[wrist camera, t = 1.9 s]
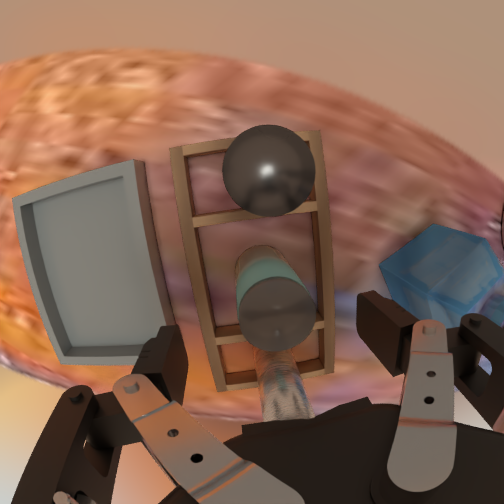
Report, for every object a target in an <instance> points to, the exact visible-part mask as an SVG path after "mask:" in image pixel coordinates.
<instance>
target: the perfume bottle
mask: <svg viewBox="0 0 504 504" xmlns="http://www.w3.org/2000/svg"><path fill="white" fill-rule="evenodd" d="M379 267H380V269H381V272H382V274H383V276H384V279H385V281H386V284H387V286H388V289H389V291H390V294H391V296H392V299H393V301H395V302H397V303H398V304H399V305H401V307H403V308H405V309H406V311H409V312H410V313H411V314H412V315H414V316H415V317H416V318H418V319H419V320H426V319H431V320H436V321H439V322H441V323H442V324H444V325H445V327H446V329H447V328H454V327H459V326H460V321H461V317H462V316H463V315H465V314H469V313H477V314H481V315H483V316H485V317H487V318H488V319H490V320H491V321H493V322H494V323H496V324H497V325H498V326H500V327H501V328H503V329H504V269H503V267H502V265H501V264H500V262H499V260H498V258H497V256H496V255H495V253H494V251H493V250H492V248H491V246H490V245H489V243H488V241H487V240H486V239H485V238H482V237H479V236H476V235H472V234H469V233H465V232H462V231H458V230H455V229H451V228H448V227H444V226H440V225H437V224H432V225H431V226H430V227H428V228H427V229H426V230H424V231H423V232H422V233H421V234H419V235H418V236H417V237H415V238H414V239H413V240H412V241H410V242H409V243H408V244H406V245H405V246H404V247H402V248H401V249H400V250H398V251H397V252H395V253H394V254H393V255H391V256H390V257H389V258H387V259H386V260H384V261H383V262H382V263H380V264H379Z"/></svg>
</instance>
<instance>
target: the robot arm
mask: <svg viewBox="0 0 504 504" xmlns="http://www.w3.org/2000/svg"><path fill="white" fill-rule="evenodd" d="M502 237H503V245H504V213H503V222H502ZM356 327H357V332H358V334H359V336H360V338H361V339H362V340H363V341H364V342H365V344H366V345H367V346H368V347H369V348H370V350H371V351H372V352H373V353H374V354H375V356H376V357H377V358H378V359H379V360H380V362H381V363H382V364H383V365H384V366H385V368H386V369H387V370H388V371H389V372H390V374H391V375H392V376H393V377H395V376H397V375H400V374H403V373H404V374H405V377H404V382H403V387H402V392H401V397H400V401H399V405H395V404H372V403H371V402H370V400H369V399H368V397H365V398H362V399H358V400H355V401H352V402H349V403H345V404H342V405H339V406H337V407H335V408H333V409H331V410H328V411H326V412H324V413H322V414H320V415H318V416H316V417H314V418H311V419H306V420H272V421H267V422H261V423H254V424H247V425H242V434H241V435H239V436H236V437H234V438H231V439H229V440H227V441H226V442H223V443H222V442H220V441H219V440H218V439H217V438H216V437H214V436H213V435H212V434H211V433H210V432H209V431H208V430H206V429H205V428H204V427H203V426H202V425H201V424H200V423H198V421H197V420H195V419H194V418H193V417H192V416H191V415H190V414H189V413H188V412H187V411H186V410H185V409H184V408H183V407H182V404H183V398H184V391H185V385H186V379H187V373H188V357H187V353H186V349H185V346H184V342H183V339H182V335H181V332H180V328H179V326H178V325H177V324H175V325H166V326H161V327H160V329H159V331H158V334H157V336H156V337H155V338H150V339H149V340H148V341H147V342H146V343H145V344H144V345H143V348H142V350H141V353H140V354H139V356H138V359H137V361H136V363H135V365H134V368H133V370H132V372H131V374H130V375H127V376H124V377H122V378H120V379H119V380H118V381H116V383H115V384H114V386H113V391H112V392H108V393H103V394H98V395H94V393H93V391H92V389H91V388H90V387H88V386H85V385H78V386H74V387H71V388H69V389H68V390H66V391H65V392H64V393H63V394H62V396H61V398H60V399H59V401H58V403H57V405H56V407H55V409H54V410H53V412H52V414H51V416H50V418H49V420H48V422H47V424H46V426H45V428H44V429H43V431H42V433H41V435H40V438H39V440H38V442H37V444H36V446H35V448H34V450H33V452H32V454H31V456H30V459H29V461H28V463H27V465H26V467H25V470H24V472H23V474H22V477H21V479H20V481H19V484H18V486H17V489H16V491H15V494H14V497H13V500H12V502H11V504H111V500H112V494H113V489H114V483H115V478H116V473H117V468H118V463H119V459H120V454H121V450H122V446H123V445H128V444H132V443H137V442H142V444H143V445H144V447H145V448H146V449H147V450H148V452H149V453H150V455H151V456H152V457H153V459H154V460H155V462H156V463H157V464H158V465H159V466H160V468H161V469H162V470H163V472H164V473H165V474H166V476H167V477H168V478H169V480H170V481H171V482H172V483H173V485H174V486H175V487H176V488H175V489H174V490H173V491H172V492H170V493H169V494H168V495H167V496H166V497H165V498H164V499H163V500H162V501H161V502H160V503H158V504H504V329H503V328H501V327H500V326H498V325H497V324H496V323H494V322H493V321H491V320H490V319H488V318H487V317H485V316H483V315H481V314H477V313H469V314H465V315H463V316H462V317H461V321H460V326H459V327H454V328H447V329H446V327H445V325H444V324H442V323H441V322H439V321H436V320H431V319H426V320H419V319H418V318H416V317H415V316H414V315H412V314H411V313H410V312H409V311H406V309H405V308H403V307H401V305H399V304H398V303H397V302H395V301H393V300H390V299H387V298H384V297H382V296H381V295H380V294H378V293H377V292H376V291H374V290H372V291H368V292H364V293H359V294H358V296H357V317H356ZM481 354H482V355H484V356H485V357H486V358H487V359H488V360H489V361H490V362H491V365H492V372H491V375H489V374H488V373H487V372H486V371H484V370H483V369H482V368H481V367H480V366H479V365H478V364H479V361H480V358H481ZM454 385H455V386H456V387H457V389H458V390H459V391H460V392H461V393H462V394H463V395H464V396H465V398H466V399H467V400H468V401H469V402H470V403H471V404H472V405H473V407H474V408H475V409H476V410H477V411H478V412H479V414H480V415H481V416H482V417H483V418H484V420H485V421H486V422H487V423H488V424H489V426H490V427H491V428H492V429H493V431H492V430H487V429H483V428H478V427H473V426H470V425H466V424H462V423H458V422H454ZM85 440H86V443H85ZM84 443H85V446H84ZM83 446H84V449H83Z"/></svg>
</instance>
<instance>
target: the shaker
mask: <svg viewBox="0 0 504 504" xmlns="http://www.w3.org/2000/svg"><path fill="white" fill-rule="evenodd" d="M235 280H236V299H237V315H238V320H239V326H240V330H241V332H242V334H243V336H244V337H245V339H246V340H247V341H248V342H249V343H250V344H252V345H253V346H255V347H257V348H259V349H262V350H265V351H283V350H287V349H290V348H293V347H295V346H296V345H298V344H300V343H301V342H302V341H303V340H304V339H305V338H306V337H307V336H308V335H309V334H310V332H311V331H312V329H313V327H314V324H315V320H316V307H315V304H314V302H313V299H312V298H311V296H310V293H309V292H308V290H307V289H306V287H305V286H304V284H303V283H302V281H301V280H300V279H299V277H298V276H297V274H296V273H295V272H294V270H293V269H292V267H291V266H290V265H289V263H288V262H287V260H286V259H285V258H284V256H283V255H282V254H281V253H280V252H279V251H278V250H277V249H275V248H273V247H270V246H266V245H258V246H254V247H251V248H249V249H247V250H246V251H245V252H244V253H242V255H241V256H240V257H239V259H238V261H237V263H236V267H235Z"/></svg>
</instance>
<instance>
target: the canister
mask: <svg viewBox="0 0 504 504" xmlns="http://www.w3.org/2000/svg"><path fill="white" fill-rule="evenodd" d="M253 354H254V361H255V368H256V375H257V382H258V389H259V395H260V402H261V409H262V415H263V422H267V421H272V420H306V419H311V418H314V417H315V415H314V412H313V409H312V406H311V403H310V401H309V398H308V395H307V392H306V390H305V387H304V384H303V381H302V378H301V376H300V373H299V370H298V367H297V365H296V362H295V359H294V356H293V354H292V351H291V348H290V349H287V350H283V351H265V350H262V349H259V348H257V347H255V346H253Z"/></svg>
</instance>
